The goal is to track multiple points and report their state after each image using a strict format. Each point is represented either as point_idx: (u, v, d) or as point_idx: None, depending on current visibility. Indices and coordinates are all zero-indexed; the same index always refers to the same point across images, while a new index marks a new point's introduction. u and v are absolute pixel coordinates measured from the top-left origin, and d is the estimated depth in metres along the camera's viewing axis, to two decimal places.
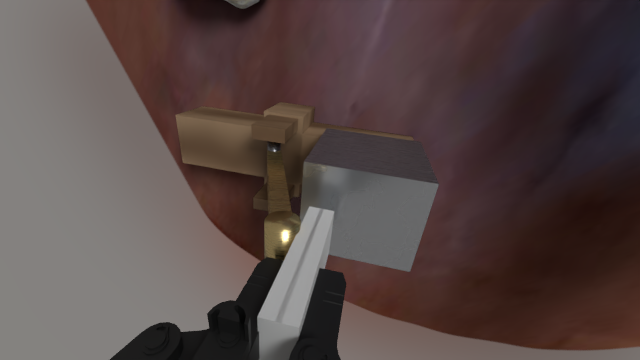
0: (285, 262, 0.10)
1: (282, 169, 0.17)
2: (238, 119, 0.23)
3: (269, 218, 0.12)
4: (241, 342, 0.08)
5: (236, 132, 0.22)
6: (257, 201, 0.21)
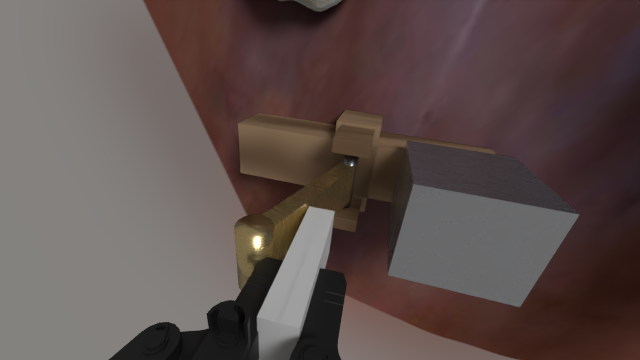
0: (285, 262, 0.10)
1: (329, 183, 0.16)
2: (303, 128, 0.22)
3: (248, 218, 0.12)
4: (240, 342, 0.08)
5: (303, 142, 0.21)
6: None
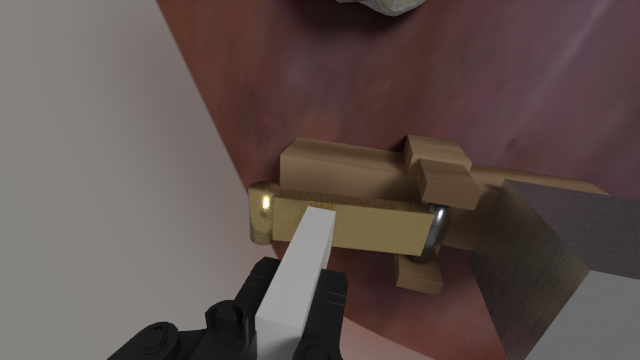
0: (283, 262, 0.10)
1: (371, 206, 0.14)
2: (360, 159, 0.18)
3: (270, 183, 0.15)
4: (239, 341, 0.08)
5: (365, 179, 0.17)
6: (404, 277, 0.15)
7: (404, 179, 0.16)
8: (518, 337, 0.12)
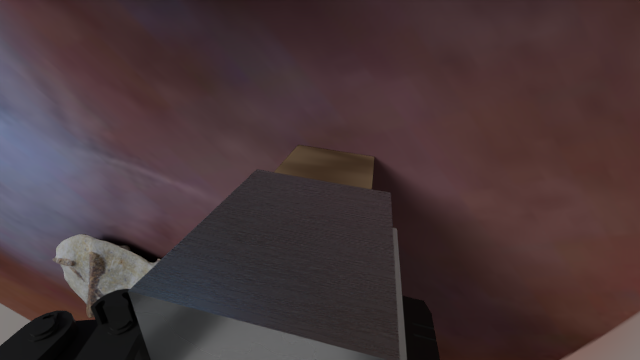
0: None
1: None
2: None
3: None
4: (135, 325, 0.08)
5: None
6: None
7: None
8: None
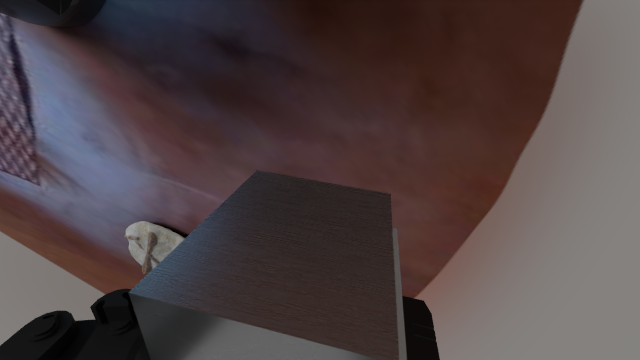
0: None
1: None
2: None
3: None
4: (135, 325, 0.08)
5: None
6: None
7: None
8: None
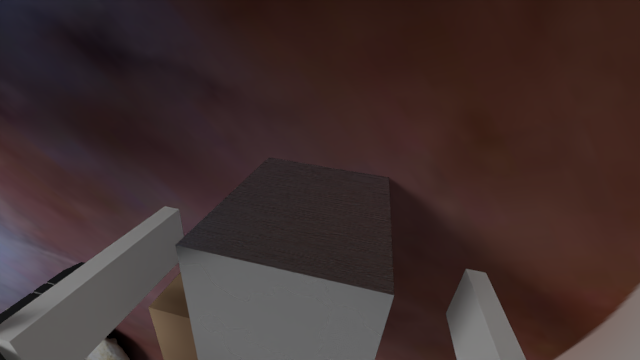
0: (79, 269, 0.09)
1: None
2: None
3: None
4: None
5: None
6: None
7: None
8: None
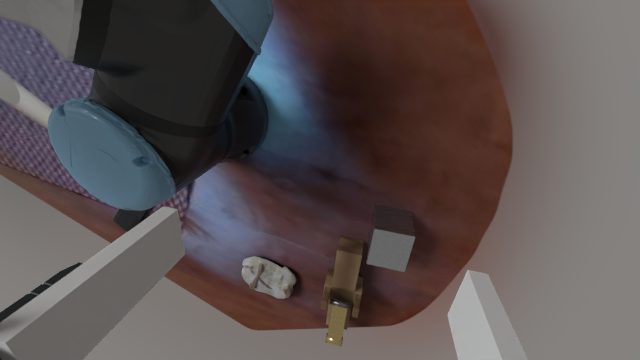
0: (77, 269, 0.09)
1: (330, 317, 0.51)
2: None
3: None
4: None
5: (331, 307, 0.53)
6: (353, 315, 0.49)
7: None
8: None
